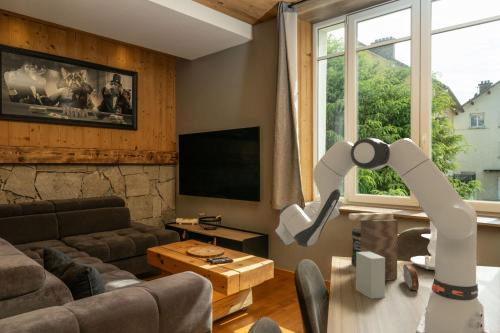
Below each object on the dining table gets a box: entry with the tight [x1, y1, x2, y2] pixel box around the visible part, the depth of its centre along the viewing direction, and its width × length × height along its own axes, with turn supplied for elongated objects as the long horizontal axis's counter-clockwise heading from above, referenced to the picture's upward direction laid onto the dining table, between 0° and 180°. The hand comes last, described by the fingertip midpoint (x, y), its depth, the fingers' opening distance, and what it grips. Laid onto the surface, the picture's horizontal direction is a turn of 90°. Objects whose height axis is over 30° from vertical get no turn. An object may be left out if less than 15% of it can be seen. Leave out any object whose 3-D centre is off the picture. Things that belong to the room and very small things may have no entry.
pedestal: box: [355, 251, 386, 300], centre depth 135 cm, size 6×10×15 cm, turn 15°
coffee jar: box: [351, 227, 361, 267], centre depth 172 cm, size 10×8×19 cm
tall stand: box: [360, 218, 399, 281], centre depth 156 cm, size 12×10×26 cm
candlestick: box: [410, 220, 437, 271], centre depth 168 cm, size 21×25×28 cm
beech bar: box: [348, 211, 394, 221], centre depth 155 cm, size 20×4×2 cm, turn 105°
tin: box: [402, 263, 420, 291], centre depth 143 cm, size 15×3×8 cm, turn 168°
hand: (335, 201), depth 150 cm, fingers open, 8 cm apart
